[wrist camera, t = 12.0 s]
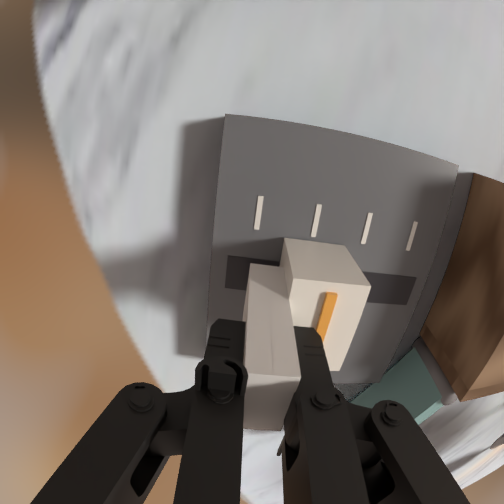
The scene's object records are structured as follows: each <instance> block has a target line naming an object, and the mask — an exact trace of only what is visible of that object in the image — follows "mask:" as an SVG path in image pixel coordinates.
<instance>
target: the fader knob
mask: <svg viewBox="0 0 504 504" xmlns="http://www.w3.org/2000/svg"><path fill="white" fill-rule="evenodd" d="M279 267H283V268H284V274H285V280H286V286H287V292H288V298H289V302H290V308H291V314H292V320H293V326H300V327H312V328H314V329H315V330H316V331H317V332H318V334H319V335H320V336H321V338H322V342H323V346H324V347H323V348H324V350H325V354H326V358H327V362H328V366H329V370H330V371H340V368H341V366H342V364H343V361H344V359H345V356H346V354H347V351H348V349H349V347H350V344H351V341H352V339H353V336H354V334H355V331H356V329H357V326H358V323H359V320H360V318H361V315H362V312H363V309H364V307H365V304H366V301H367V298H368V295H369V292H370V289H371V285H370V283H369V282H368V280H367V279H366V277H365V276H364V274H363V272H362V271H361V269H360V268H359V266H358V265H357V263H356V262H355V260H354V259H353V257H352V256H351V254H350V253H349V251H348V250H347V248H346V247H345V246H344V245H337V244H329V243H322V242H314V241H307V240H299V239H291V238H284V243H283V249H282V254H281V260H280V266H279Z"/></svg>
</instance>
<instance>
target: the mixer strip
mask: <svg viewBox="0 0 504 504" xmlns="http://www.w3.org/2000/svg"><path fill="white" fill-rule="evenodd" d="M458 167H459V165H456V164H453V163H450V162H448V161H445V160H442V159H439V158H436V157H433V156H430V155H427V154H424V153H421V152H418V151H414V150H411V149H408V148H404V147H401V146H398V145H394V144H390V143H387V142H383V141H379V140H375V139H371V138H367V137H363V136H359V135H355V134H351V133H346V132H342V131H337V130H332V129H327V128H322V127H317V126H311V125H306V124H300V123H294V122H288V121H281V120H274V119H267V118H259V117H251V116H242V115H232V114H225V120H224V129H223V137H222V146H221V155H220V165H219V174H218V184H217V195H216V205H215V217H214V228H213V241H212V254H211V267H210V282H209V298H208V315H207V334H206V346H207V342H208V338H209V332H210V328H211V325H212V324H213V323H214V322H215V321H216V320H217V319H218V318H220V319H228V320H235V321H243V311H244V304H245V297H246V290H247V283H248V277H249V270H250V263H253V264H261V265H269V266H277V267H279V266H280V260H281V254H282V249H283V243H284V238H291V239H299V240H307V241H314V242H322V243H329V244H337V245H344V246H345V247H346V248H347V250H348V251H349V253H350V254H351V256H352V257H353V259H354V260H355V262H356V263H357V265H358V266H359V268H360V269H361V271H362V272H363V274H364V276H365V277H366V279H367V280H368V282H369V283H370V285H371V289H370V292H369V295H368V298H367V301H366V304H365V307H364V309H363V312H362V315H361V318H360V320H359V323H358V326H357V329H356V331H355V334H354V336H353V339H352V341H351V344H350V347H349V349H348V351H347V354H346V356H345V359H344V361H343V364H342V366H341V368H340V371H330V374H331V378H332V382H333V383H338V384H348V383H379V382H380V381H381V379H382V377H383V375H384V373H385V371H386V369H387V368H388V366H389V364H390V362H391V360H392V358H393V356H394V354H395V352H396V350H397V348H398V346H399V344H400V342H401V340H402V337H403V335H404V333H405V331H406V329H407V327H408V324H409V322H410V320H411V317H412V315H413V313H414V311H415V308H416V306H417V303H418V301H419V298H420V296H421V293H422V291H423V288H424V286H425V283H426V280H427V278H428V275H429V272H430V269H431V266H432V264H433V261H434V258H435V255H436V252H437V249H438V245H439V242H440V239H441V236H442V232H443V229H444V226H445V222H446V218H447V215H448V211H449V207H450V203H451V199H452V195H453V191H454V186H455V182H456V177H457V172H458Z"/></svg>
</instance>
